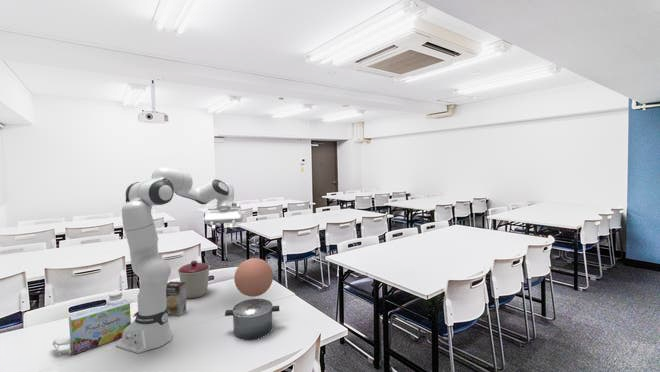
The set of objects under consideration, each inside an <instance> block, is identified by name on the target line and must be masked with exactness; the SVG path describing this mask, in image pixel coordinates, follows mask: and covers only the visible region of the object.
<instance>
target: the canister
mask: <svg viewBox="0 0 660 372" xmlns="http://www.w3.org/2000/svg"><path fill="white" fill-rule="evenodd" d="M210 268H211V266H210V265H209V264H208V263H205V262H198V261H197V260H192V261H191V262H190V263H187V264H185V265H183V266H181V267H180V268H178V269H177V274H178V275H179V282H186V299H195V298H200V297H202V296H204V295H206V293H207V291H208V286H209V273H210Z"/></svg>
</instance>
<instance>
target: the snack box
mask: <svg viewBox="0 0 660 372" xmlns="http://www.w3.org/2000/svg"><path fill="white" fill-rule="evenodd" d="M131 317H132V316H131V304H130V302H128V301H127V300H126V301H123V302H119V303H116V304H112V305H109V306H107V305H106V306H102V307H99V308H95V309H92V310H91V309H90V310H89V311H85V312H82V313H77V314H74V315H71V316H69V317H68V325H69V326H68V327H69V337H70V340H71V354H73V356H74V355H76V354H80V353H82V352H85V351H88V350H90V349H94V348H97V347H99V346H102V345H104V344H107V343H110V342H114V341H115V340H120V339H121V338H122V333H123V331H124V329H125V328H126V327H127V326H128V325H130V324H131V323H132V322H131V320H132V319H131Z"/></svg>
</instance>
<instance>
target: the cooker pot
mask: <svg viewBox="0 0 660 372" xmlns="http://www.w3.org/2000/svg"><path fill="white" fill-rule="evenodd" d="M274 312H275V313H276V312H280V305H273V303H272V302H271V301H270V300H268V299H265V298H251V299H247V300H243V301H240V302H238V303H236V304H235V305H234V306H233V308H232V309H227V310H225V312H224V316H225V317H229V316H231V317H232V323H233V335H234V337H235V338H237V339H238V338H239V339H238V340H241V339H243V341H254V339H255V340H258V338H259V339H262V338H264V337H263V336H265V335H266V336H268V335H269V334H270V333H271V332H272V331H271V330H273V329H272V328H273V324H274V323H273V322H274V320H273V313H274ZM268 333H269V334H268ZM267 334H268V335H267ZM266 336H265V337H266ZM261 337H262V338H261Z"/></svg>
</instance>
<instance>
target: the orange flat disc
mask: <svg viewBox="0 0 660 372" xmlns="http://www.w3.org/2000/svg"><path fill="white" fill-rule="evenodd" d="M273 279H274V272H273V269H272V267H271V266H270V264H269V263H268V262H267V261H266V260H264V259H261V258H256V257H254V258H253V257H252V258H249V259H246V260H244V261H242V262H241V263H240V264H239V266H238V267H237V268H236V270H235V273H234V279H233V280H234V284H235V287H236V289H237V290H238V291H239V292H240V293H241V294H243V295H244V296H247V297H250V298H251V297H252V298H254V297H259V296H261V295H263V294H265V293H267V291H268V290H269V289H270V287H271V286H272V283H273V281H274V280H273Z"/></svg>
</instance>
